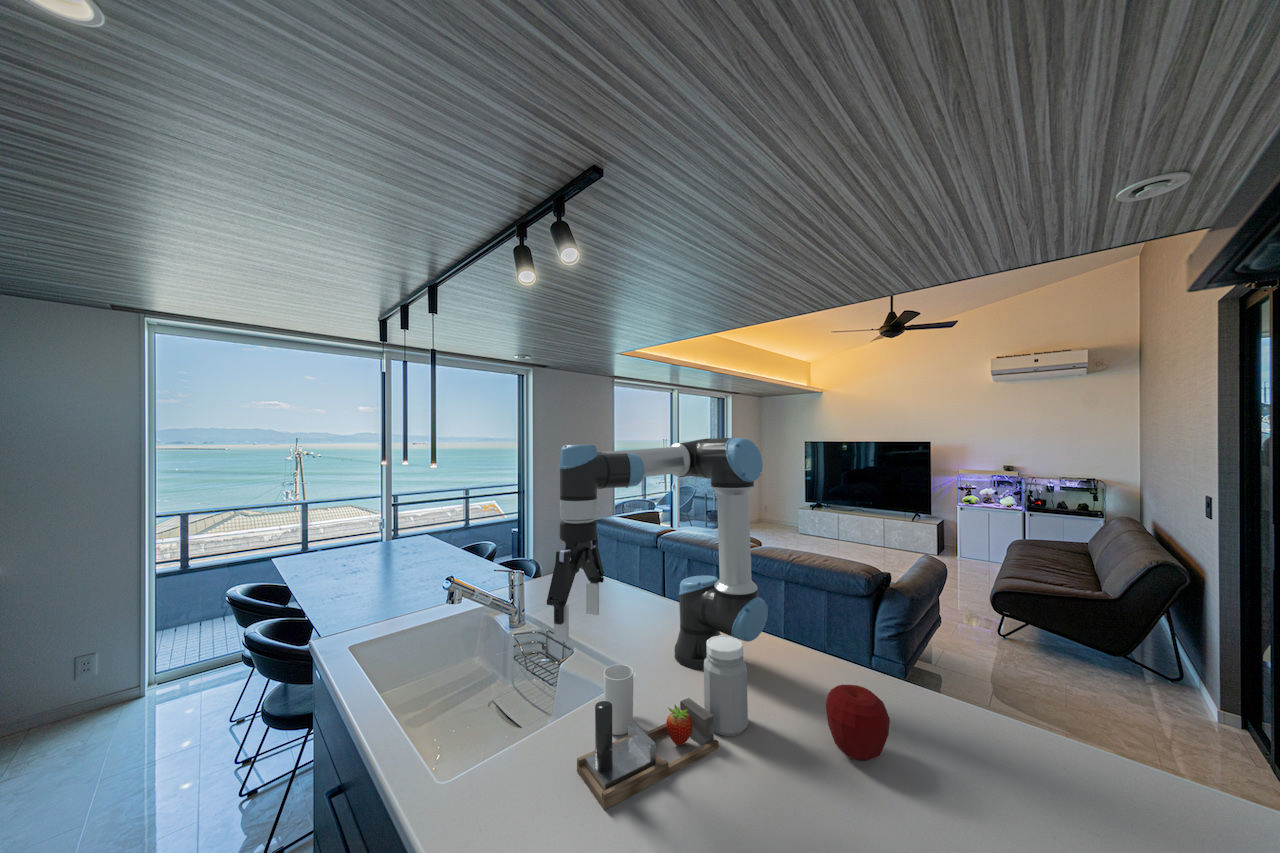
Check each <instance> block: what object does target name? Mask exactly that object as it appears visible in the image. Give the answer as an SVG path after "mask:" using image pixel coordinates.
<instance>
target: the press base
mask: <svg viewBox="0 0 1280 853" xmlns="http://www.w3.org/2000/svg"><path fill="white" fill-rule="evenodd" d="M686 709H688V710H687V713H690V714H689V716H690V718H691V721H692V733H691V735H690V737H689V738H690V739H692V740H693V741H694V742H695V743H696V744H698V745H699V746H700V747H698V748H696V749H694V750H692V751H690V752H688V753H686V754H684V755H682V756H681V757H678V758H677V759H676V758H675V759H674V760H673V761H671V762H669V761H668V760H667V759H665V760H662V759H661V758H660V757H659V756H658V755H657V754H656V765H654V766H652V767H650V768H648V769H646V770H644V771H642V772H640V773H638V774H636V775H634V776H632V777H630V778H628V779H627V780H625V781H623V782H621V783H619V784H617V785H615V786H613V787H611V788H609V789H607V790H604V789H603V788H602V786H601V785H600V784H599V782H598V781H597V780H596V778H595V777H594V776H593V774H592V773H591V772H590V770H589V769H588V768H587V766H586V765H585V758H586V757H588V756H590V755H592V754H595V750H593V751H590V752H588V753H585V754H583V755H582V756H578V757H577V758H576V772H577V774H578V775H579V776H580V778H581V779H582V781H583V782H584V783H585V785H586V787H587V788H588V789H589V790H590V792H591V794H593V796H594V798H595V799H596V801H597V802H598V803H599V805H600V806H601V808H602V810H604V811H606V810H607V809H609V808H612V807H614V806H615V805H617V804H619V803H621V802H623V801H624V800H627V799H628V798H630V797H633V796H634V795H636V794H637V793H640V792H641V791H644V790H645V789H647V788H648V787H651V786H653V785H654V784H656V783H658V782H660V781H662V780H664V779H666V778H667V777H669V776H672V775H674V774H675V773H677V772H678V771H681V770H683V769H684V768H686V767H688V766H690V765H692V764H694V763H696V762H697V761H700V760H702V759H703V758H705V757H707V756H709V755H711V754H713V753H714V752H716V751H718V750H720V741H719V740H717V739H716V738H715V736H714V735H715V734H714V733H715V732H714V721H713V715H712V714H710V713H709V712H708V711H706V710H705V707H704V708H703V707H702V706H701V705H699V703H697V702H696V701H695V700H693V699H691V698H690V697H688V698H684V699H682V700H680V701H679V710H682V711H684V710H686ZM644 733H645V734H646V735H647V736H649V737H650V738H651V739H652V740H653V741H654V740H655V739H657V738H660V737H662V736H664V735H666V734H668V731H667V726H666V723H664V724H661V725H659V726H656V727H655V728H652V729H650V730H648V731H646V732H645V731H644ZM626 739H628V735H626V736H624V737H621V738H620V739H618V740H615V741H612V745H615V744H617V743H619V742H621V741H624V740H626Z"/></svg>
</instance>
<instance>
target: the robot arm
mask: <svg viewBox="0 0 1280 853" xmlns="http://www.w3.org/2000/svg"><path fill="white" fill-rule="evenodd" d="M762 458H763V457H762V455H761V451H760V449H759V448H758V446H757V445H756V444H755V442H754V441H752V440H751V439H748V438H744V437H743V438H742V437H736V436H735V437H734V436H733V437H724V438H723V437H722V438H721V437H720V438H719V437H717V438H714V437H713V438H702V439H696V440H691V441H685V442H677V443H676V442H675V443H672V444H671V445H670V446H669V447H668V446H667V447H655V448H654V447H653V448H640V449H639V448H638V449H625V450H624V449H623V450H612V451H611V450H610V451H608V450H607V451H598V448H597V446H596V445H595V444H565V445H563V446H561V448H560V455H559V465H558V468H559V499H560V500H559V504H558V506H559V518H560V519H561V521H560V522H559V540H561V541H562V542H564V543H565V548H564V550H562V549H561V550H560V549H557V550H556V552H555V562H554V563H555V564H554V569H553V572H552V575H551V576H552V577H551V581H550V585H549V589H548V595H547V597H546V605H547V606H552V607H553V640H554V641H559V642H566V643H567V642H568V641H569V640H570V638H569V637H570V636H569V635H570V634H569V633H570V632H569V630H570V627H569V624H570V623H569V622H570V620H569V618H570V617H569V616H570V610H569V608H570V605H569V604H567V602H568V599H569V596H570V593H571V590H572V588H573V587H572V586H573V584H574V580H575V577H576V575H577V573H579V572H580V569H582V571H583V572H584V574H585V576H586V578H587V580H588V581H587V582H586V585H585V586H586V588H585V594H586V596H585V601H586V602H585V604H586V606H585V607H586V608H585V611H586V612H585V613H586V615H587V614H588V615H594V616H598V615H599V614H600V583H604V579H605V578H604V575H605V572H604V567H603V563H602V559H601V554H600V551H599V543H598V542H599V539H598V537H597V536H598V535H597V534H598V528H597V527H598V525H597V524H598V521H596V518H597V517H598V499H597V498H598V496H597V495H598V490H603V489H615V488H617V489H618V488H619V489H620V488H630V487H637V486H638V485H640V484H641V483H642V481H643V480H644V478H647V477H655V476H657V477H658V476H666V475H672V476H675V477H693V478H694V477H695V478H702V479H709V480H710V487H711V489H712V490H714V491H715V493H716V504H717V506H716V508H717V536H718V538H717V539H718V567H719V568H718V569H719V578H718V577H717V576H713V575H705V574H704V575H694V576H689V577H686V578H684V579H682V580H681V582H680V584H679V592H678V596H679V597H678V598H679V599H678V600H679V601H678V604H679V631H678V632H679V633H678V636H677V640H676V643H675V646H674V658H675V660H676V662H678V663H679V664H681V666H683V667H684V666H685V667H686V668H690V669H695V670H704V660H705V659H706V657H707V645H706V644H707V640H708V639H710V638H711V637H714V636H719V635H722V634H725V635H726V636H731V637H734V638H737V639H738V640H740V641H742V642H743V641H744V642H752V641H754V640H756V639H757V638H758V637H759V636H760V635H761V634H762V632H763V631H764V628H765V625H766V623H767V621H768V616H769V615H768V612H769V610H768V609H769V608H768V604H767V603H766V601H765V600H764V599H763V598H761V597H759V590H758V589H759V588H758V585H757V584H756V583H755V582H754V581H753V580H752V559H751V558H752V557H751V555H752V554H751V528H750V527H751V526H750V502H749V501H750V498H749V493H750V491H752V490H753V489H754V487H755V481H757V480H758V479H759V478H761V472H762V470H763V459H762ZM721 633H722V634H721Z"/></svg>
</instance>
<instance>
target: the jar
mask: <svg viewBox="0 0 1280 853" xmlns="http://www.w3.org/2000/svg"><path fill="white" fill-rule="evenodd" d="M706 645H707V657H706V659H705V660H704V669H703V686H704V687H703V690H704V691H703V693H704V694H703V696H704V698H703V699H704V709H705V710H706V711H708V712H709V713H710V714H712V715H713V721H714V733H716V734H719V735H721V736H726V737H733V736H737V735H740V734H741V733H742V732H743V731H745V729H746V728H747V727H748V725H749V718H748V717H749V715H748V713H749V712H748V707H749V706H748V705H749V704H748V668H747V662H746V661H745V660H744V643H743V641H742V640H740V639H737V638H734V637H732V636H729V635H722V634H721V635H719V636H714V637H711V638H710V639H708V640H707V644H706Z"/></svg>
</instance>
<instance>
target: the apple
mask: <svg viewBox="0 0 1280 853" xmlns="http://www.w3.org/2000/svg"><path fill="white" fill-rule="evenodd" d="M825 712H826V719H827V724H828V727H829V730H830V733H831V736H832V738H833V741H834V743H835V746H836V747H837V748H838V749H839V751H841V753H843V754H844V755H845V756H846V757H848V758H850V759H851V760H854V761H857V762H865V761H869V760H872V759H875V758H878V757H880V756H881V754H882V753H883V751H884V748H885V745H886V743H887V740H888V738H889V734H890V733H889V732H890V723H891V719H890V718H891V717H890V716H889V714H888V711H887V708H886V706H885V703H884V701H882V700H881V699H880V698H879V696H877V695H876V694H875V693H874V692H873V691H872V690H869V689H868V688H866V687H863V686H860V685H857V684H856V685H855V684H839V685H837V686H835V687H833V688H831V689H830V691H829V692H828V693H827V697H826V699H825Z"/></svg>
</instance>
